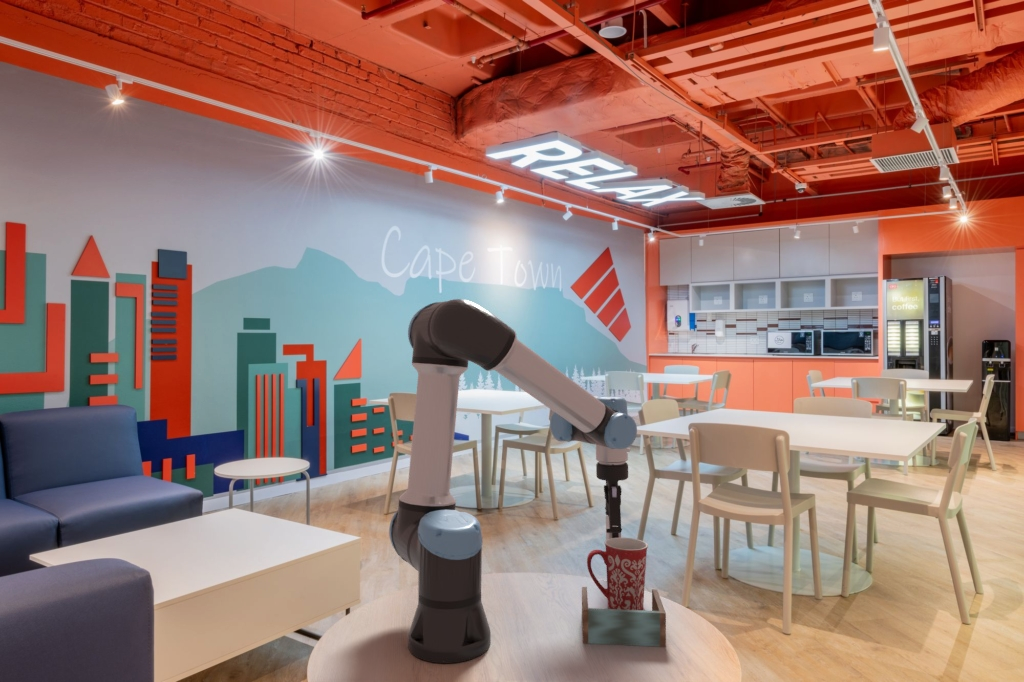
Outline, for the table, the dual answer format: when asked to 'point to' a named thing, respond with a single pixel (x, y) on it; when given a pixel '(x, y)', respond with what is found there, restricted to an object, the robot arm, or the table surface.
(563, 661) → the table surface
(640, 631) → the dock
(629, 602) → the mug
